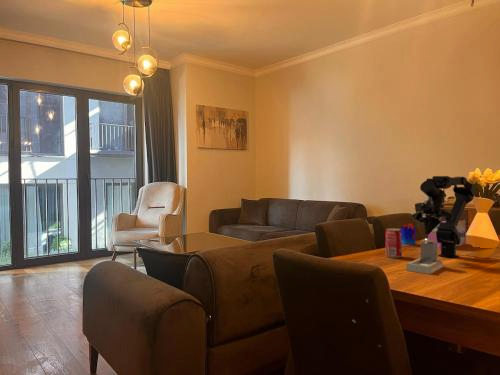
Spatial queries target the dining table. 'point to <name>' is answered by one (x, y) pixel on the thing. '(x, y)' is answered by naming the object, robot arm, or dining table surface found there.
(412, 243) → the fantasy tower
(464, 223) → the gum box
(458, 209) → the robot arm
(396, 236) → the soda can
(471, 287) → the dining table surface
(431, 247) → the gray block silver cap
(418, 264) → the rail
